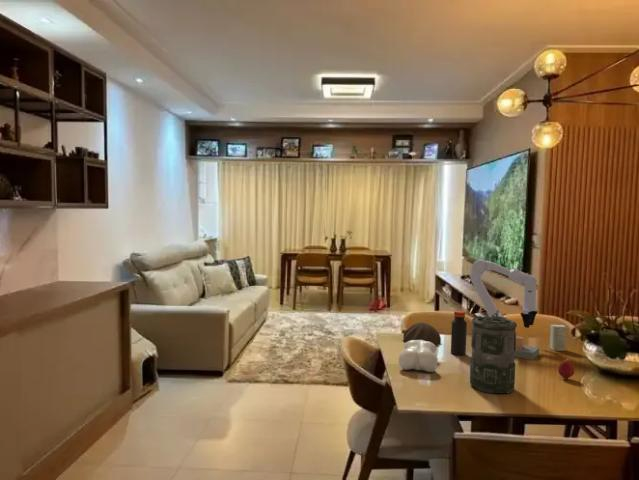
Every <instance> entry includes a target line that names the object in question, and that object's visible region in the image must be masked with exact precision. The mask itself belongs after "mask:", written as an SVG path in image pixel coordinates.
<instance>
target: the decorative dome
mask: <svg viewBox="0 0 639 480" xmlns="http://www.w3.org/2000/svg"><path fill="white" fill-rule="evenodd" d="M410 340H424V341H429V342H431V343H433V344H434V345H435V346H439V345H441V343H442V338H441V335H440V333H439V331H438V330H437V329H436V328H435V327H434V326H433V325H431V324H428V323H425V322H417V323H414V324H412V325H410V326H409V327H408V328H407V329H406V330H405V331H404V333H403V340H402V342H403V343H406V342H408V341H410Z"/></svg>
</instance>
